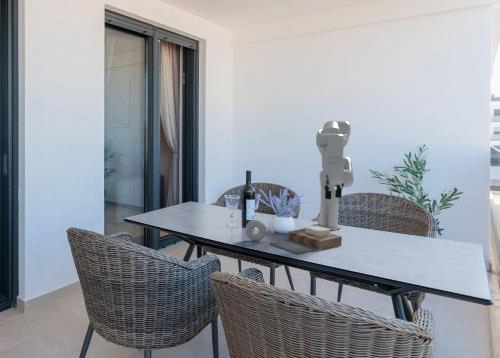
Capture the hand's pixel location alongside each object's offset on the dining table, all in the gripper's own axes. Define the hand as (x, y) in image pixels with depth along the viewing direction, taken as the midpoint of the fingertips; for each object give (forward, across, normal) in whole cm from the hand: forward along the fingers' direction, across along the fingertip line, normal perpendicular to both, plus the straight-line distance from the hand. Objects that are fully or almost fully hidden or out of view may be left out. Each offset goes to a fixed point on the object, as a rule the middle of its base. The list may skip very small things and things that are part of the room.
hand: (333, 198), depth 179 cm
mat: (+20, +26, 0) cm, 32 cm away
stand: (+20, +12, 0) cm, 23 cm away
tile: (+14, +10, 0) cm, 18 cm away
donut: (+20, +33, -17) cm, 42 cm away
